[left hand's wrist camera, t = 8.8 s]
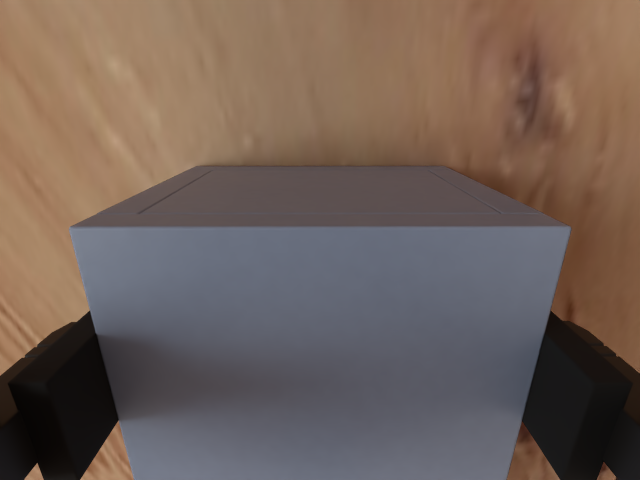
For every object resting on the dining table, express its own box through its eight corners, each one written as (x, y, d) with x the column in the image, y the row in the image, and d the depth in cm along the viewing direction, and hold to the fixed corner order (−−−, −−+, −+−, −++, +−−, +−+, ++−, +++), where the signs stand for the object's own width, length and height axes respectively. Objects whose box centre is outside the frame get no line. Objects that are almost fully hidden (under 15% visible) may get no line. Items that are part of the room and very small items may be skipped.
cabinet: (408, 469, 22) (457, 671, 14) (232, 469, 22) (183, 671, 14) (445, 165, 15) (574, 226, 7) (195, 165, 15) (66, 227, 7)
